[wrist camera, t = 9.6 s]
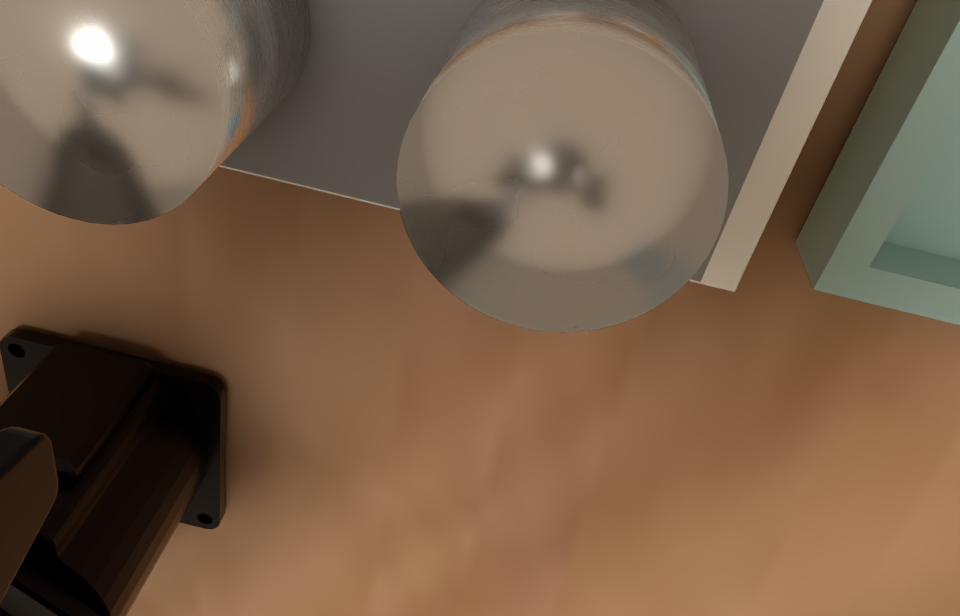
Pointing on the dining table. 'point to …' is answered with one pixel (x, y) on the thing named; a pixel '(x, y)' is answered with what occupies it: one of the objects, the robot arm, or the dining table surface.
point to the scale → (433, 30)
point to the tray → (898, 181)
